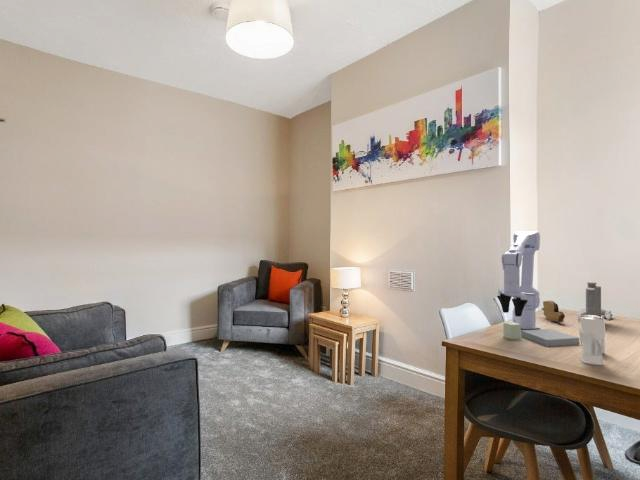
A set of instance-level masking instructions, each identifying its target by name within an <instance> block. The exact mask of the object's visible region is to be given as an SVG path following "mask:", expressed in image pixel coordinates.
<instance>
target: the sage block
mask: <svg viewBox="0 0 640 480" xmlns="http://www.w3.org/2000/svg"><path fill="white" fill-rule="evenodd" d="M502 327H503V333H502V334H503V337H504V336H505V337H504V338H506V337H508V338H510V339H513V340H522V337H521V331H522V328H521V324H518V323H515V322H513V321H509V322H508V321H507V322H505V321H504V322H503V325H502ZM508 338H507V339H508ZM510 339H509V340H510Z"/></svg>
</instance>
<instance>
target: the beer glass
mask: <svg viewBox="0 0 640 480" xmlns="http://www.w3.org/2000/svg"><path fill="white" fill-rule="evenodd" d="M578 334H579V341H580V343H581V344H580V345H581V356H580V361H581V362H582V363H584V364H587V365H591V366H603V365H604V357H603V354H602V349H603V344H604V339H605V340H606V324H605V317H602V316H601V317H598V316H591V315H581V316H580V319H579V323H578Z"/></svg>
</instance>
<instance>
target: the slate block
mask: <svg viewBox="0 0 640 480" xmlns="http://www.w3.org/2000/svg"><path fill="white" fill-rule="evenodd" d="M521 336H522V337H521V338H525V339H526V338H527V339H526V340H529V341H532V342H534V343H537V344H539V345H542V346H545V347H559V346H574V345H575V346H577V345H580V337H578V336H575V335H571V334H568V333H565V332H562V331H558V330H556V329H552V328H545V329H544V328H543V329H541V328H540V329H523V330H522V329H521Z"/></svg>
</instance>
